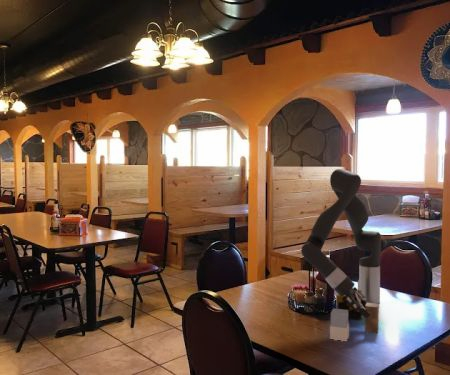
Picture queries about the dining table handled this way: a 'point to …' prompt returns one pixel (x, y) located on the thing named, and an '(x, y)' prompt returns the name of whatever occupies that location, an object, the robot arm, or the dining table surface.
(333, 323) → the block
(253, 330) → the dining table surface
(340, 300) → the yellow patterned cube
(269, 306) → the dining table surface
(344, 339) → the tower base
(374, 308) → the pillar
